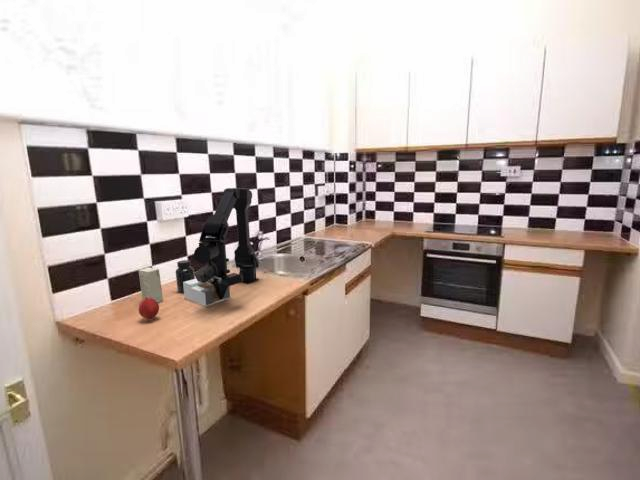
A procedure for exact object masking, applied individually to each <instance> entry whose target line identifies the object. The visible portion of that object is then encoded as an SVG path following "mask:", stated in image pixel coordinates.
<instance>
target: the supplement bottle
mask: <svg viewBox="0 0 640 480" xmlns="http://www.w3.org/2000/svg"><path fill="white" fill-rule="evenodd" d="M176 263H177V268H176V269H175V280H176V287H177V289H176V290H177V292H178V293H180V294H184V287H183V282H185V281H189V280H193V279H196V277H195V275H194V273H195V268H194V267H192V266H191V265H192V264H191V260H189V259H184V260H179V261H177V262H176Z"/></svg>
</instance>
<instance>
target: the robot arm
mask: <svg viewBox="0 0 640 480" xmlns="http://www.w3.org/2000/svg"><path fill="white" fill-rule="evenodd" d="M252 199H253V191H252V190H251V189H250V188H249V187H231V188H230V187H228V188H224V190H223V195H222V198H221V200H220V201H219V203H218V206H217V207H216V210H215V211H214V213H213V214H212V215H210V216H209V217H208V218H207V219H206V220H205V222H204V223H203V226H202V229H201V233H200V236H199V239H198V242H199V243H198V246H197V247H196V248H195V249H194V253H193V258H194V260H195V261H196V262H197V263H199V264H201V265H204V264H205V265H204V266H202V267H200V268H199V269H198V270H196V271H194V275H195V279H197V281H198V282H202V283H206V282H209V283H211V284H212V285H213V286H214V288H215V290H216V292H217V295H218V297H219V299H220V300H221V299H223V297H224V295H225V292H226V290H227V288H228V286H229V287H231V286H232V287H233V286H235V285H238V284H241V283H244V284H251V283H253V282H257V281H259V279H260V278H258V277H257V268H259V267H260V259H259V258H258V256H257V254H256V251H255V248H254V247H253V246H252V244H251V235H250V221H249V219H250V218H249V208H250V206H251V204H252ZM233 209H234V210H235V215H236V216H235V217H236V227H237V228H236V229H237V243H238V245H237V247H236V249H234V253H233V254H234V257H233V258H234V263H235V267H236V269H238V268H239V272H238V273H236V272H232V273H231V270H230V269H229V268H228V263H227V262H230V258H228V257H227V249H226V242H227V241H228V240H227V235H228V232H229V226H230V225H229V223H228V221H229V219H230V215H231V213H232V212H233Z"/></svg>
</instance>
